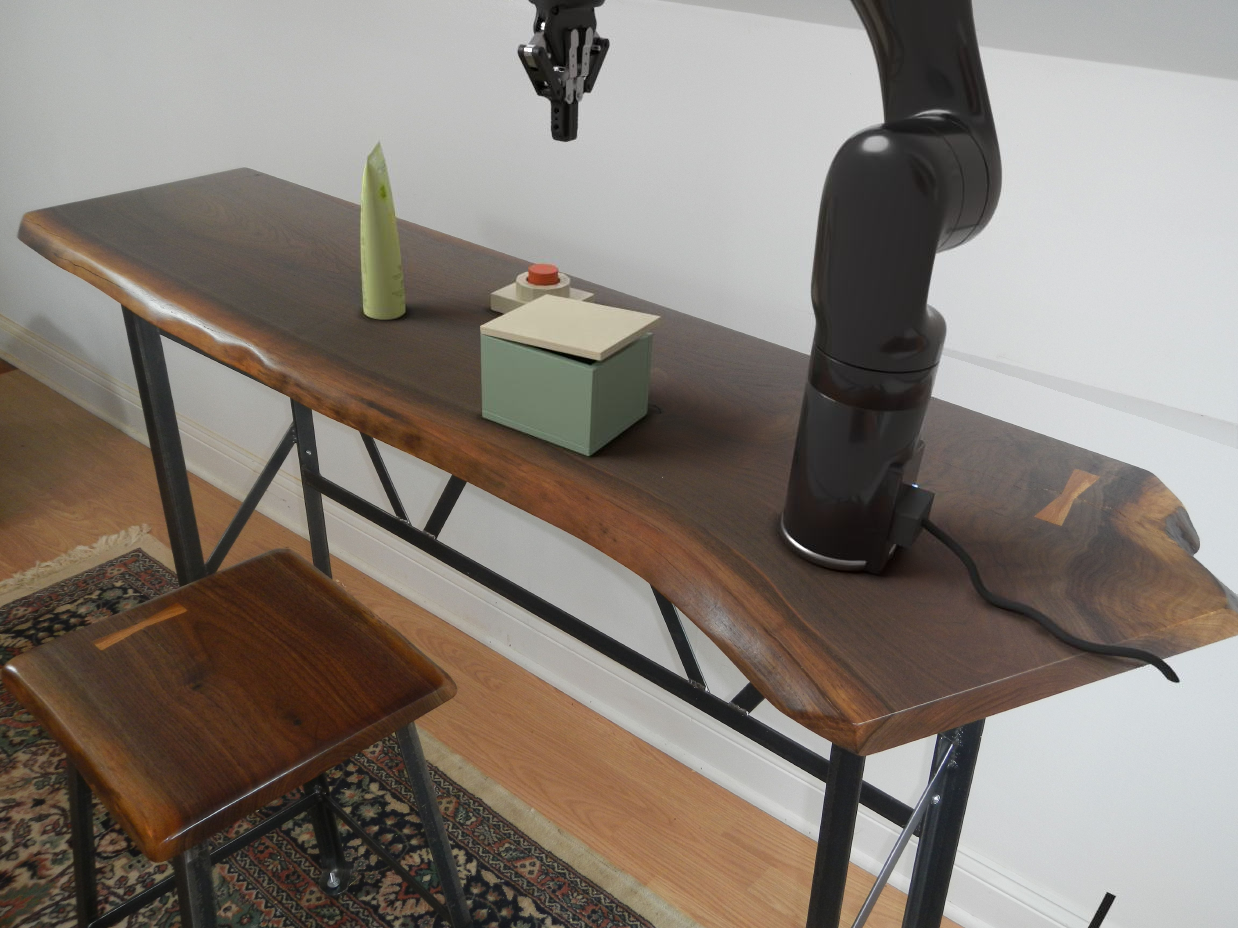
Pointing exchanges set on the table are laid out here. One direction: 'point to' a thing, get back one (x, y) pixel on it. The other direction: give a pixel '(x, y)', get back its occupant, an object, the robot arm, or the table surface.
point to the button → (543, 274)
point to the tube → (380, 243)
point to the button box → (534, 293)
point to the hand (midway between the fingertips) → (564, 140)
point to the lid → (572, 326)
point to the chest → (565, 391)
